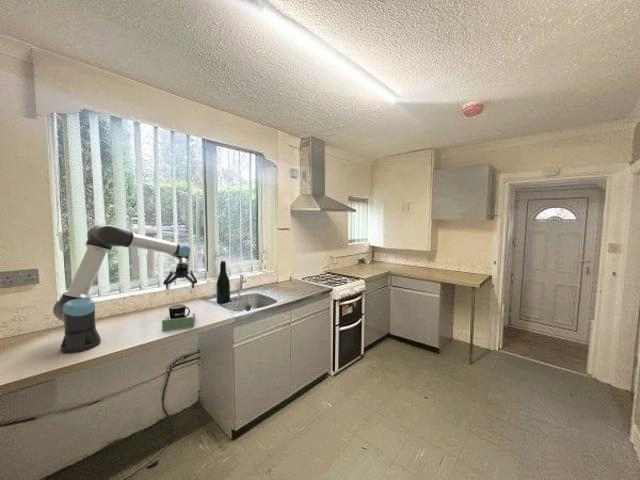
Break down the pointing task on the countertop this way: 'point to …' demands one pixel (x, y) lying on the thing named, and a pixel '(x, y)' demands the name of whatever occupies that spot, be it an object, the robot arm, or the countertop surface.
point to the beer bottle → (223, 285)
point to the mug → (178, 311)
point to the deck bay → (178, 323)
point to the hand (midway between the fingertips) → (179, 292)
